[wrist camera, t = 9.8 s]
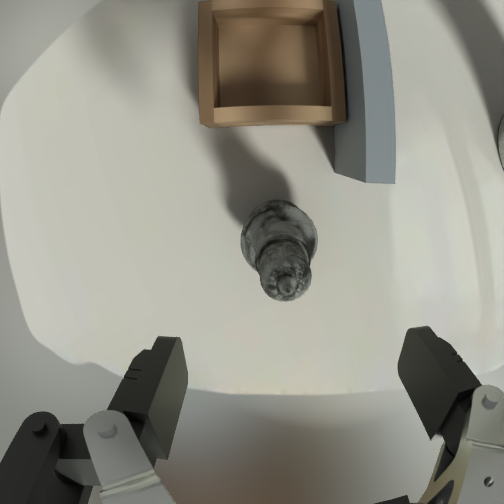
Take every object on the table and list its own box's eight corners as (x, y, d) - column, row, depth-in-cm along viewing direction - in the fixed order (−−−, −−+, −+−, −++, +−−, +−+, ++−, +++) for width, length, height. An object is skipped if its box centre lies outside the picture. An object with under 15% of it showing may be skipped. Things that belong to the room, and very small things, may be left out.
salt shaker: (233, 209, 26) (211, 257, 14) (299, 187, 25) (331, 219, 13) (255, 269, 27) (252, 352, 16) (318, 250, 26) (355, 322, 15)
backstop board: (343, -8, 18) (368, -51, 11) (356, 173, 24) (394, 184, 17) (322, -10, 18) (341, -56, 11) (334, 172, 24) (365, 182, 17)
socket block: (324, 22, 19) (335, 0, 15) (331, 126, 23) (346, 121, 18) (208, 23, 20) (198, 2, 16) (210, 128, 23) (199, 123, 19)
